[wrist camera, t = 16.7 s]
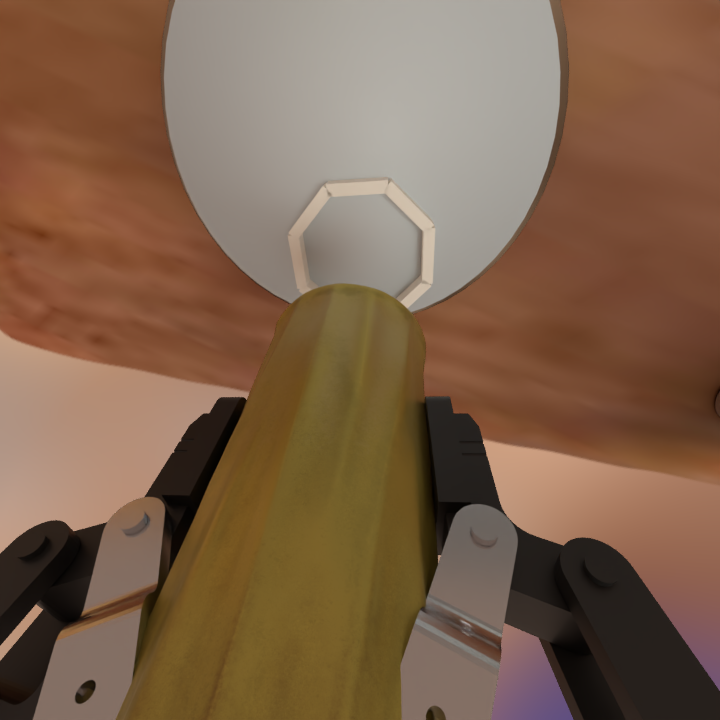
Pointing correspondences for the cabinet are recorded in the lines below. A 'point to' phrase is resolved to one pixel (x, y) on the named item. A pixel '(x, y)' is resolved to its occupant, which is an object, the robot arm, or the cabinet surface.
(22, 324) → the cabinet surface
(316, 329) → the vase
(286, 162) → the turntable
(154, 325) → the cabinet surface
